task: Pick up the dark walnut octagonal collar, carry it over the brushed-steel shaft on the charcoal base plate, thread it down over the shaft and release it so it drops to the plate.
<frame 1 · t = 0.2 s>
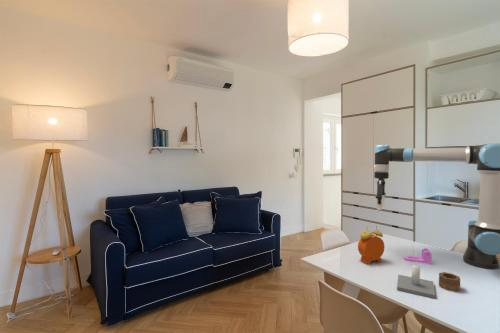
hand: (380, 207, 161), 28 cm above the table, fingers open, 13 cm apart
alarm clock: (370, 261, 152), on the table
post: (415, 287, 123), on the table
bracket: (416, 261, 153), on the table
collar: (448, 286, 123), on the table
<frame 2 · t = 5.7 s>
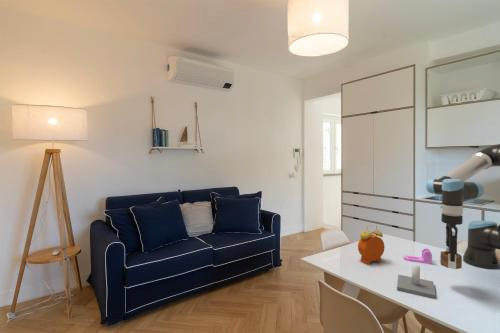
hand: (450, 264, 123), 10 cm above the table, fingers closed on collar, 7 cm apart
collar: (450, 265, 123), point 10 cm above the table, touching gripper
everything else where it was.
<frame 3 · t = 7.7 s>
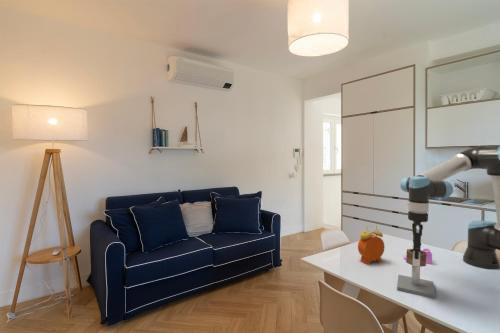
hand: (415, 262, 122), 11 cm above the table, fingers closed on collar, 7 cm apart
collar: (415, 263, 122), point 11 cm above the table, touching gripper
everything else where it was.
when the fingers open (3 cm above the table, at t = 9.8 s): collar drops 1 cm, resting on post.
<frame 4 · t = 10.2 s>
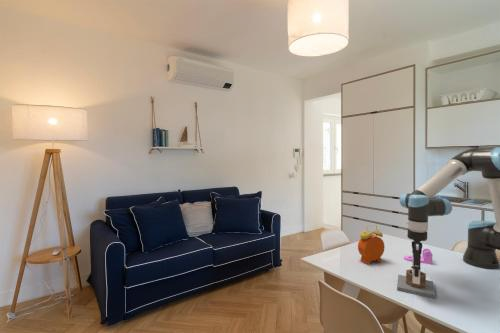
hand: (415, 277, 122), 5 cm above the table, fingers open, 13 cm apart
collar: (415, 283, 123), point 1 cm above the table, touching post
everything else where it was.
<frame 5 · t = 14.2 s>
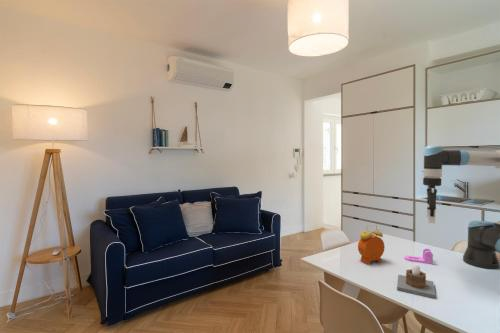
hand: (430, 220, 136), 27 cm above the table, fingers open, 13 cm apart
nothing on the table moved.
at the end: collar 0.0 cm off-centre on the post, point 1.5 cm above the post's base; the gripper is holding nothing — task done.
